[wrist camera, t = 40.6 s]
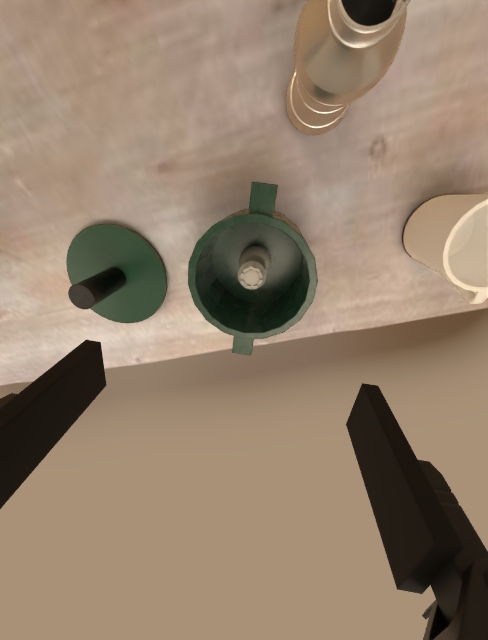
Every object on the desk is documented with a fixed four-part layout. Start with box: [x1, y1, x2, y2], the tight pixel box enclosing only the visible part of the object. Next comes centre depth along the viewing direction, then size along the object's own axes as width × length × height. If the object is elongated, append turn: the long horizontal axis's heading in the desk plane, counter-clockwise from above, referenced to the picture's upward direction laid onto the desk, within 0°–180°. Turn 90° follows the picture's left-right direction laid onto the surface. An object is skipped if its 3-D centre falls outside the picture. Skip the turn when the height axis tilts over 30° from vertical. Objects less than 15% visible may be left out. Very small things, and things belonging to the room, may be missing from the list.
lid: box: [67, 224, 167, 323], centre depth 37 cm, size 15×15×9 cm
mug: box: [402, 194, 488, 304], centre depth 30 cm, size 11×9×10 cm
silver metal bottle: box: [286, 0, 410, 135], centre depth 21 cm, size 6×7×20 cm
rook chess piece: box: [238, 246, 272, 289], centre depth 34 cm, size 4×4×8 cm
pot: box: [188, 182, 318, 355], centre depth 33 cm, size 14×19×10 cm
